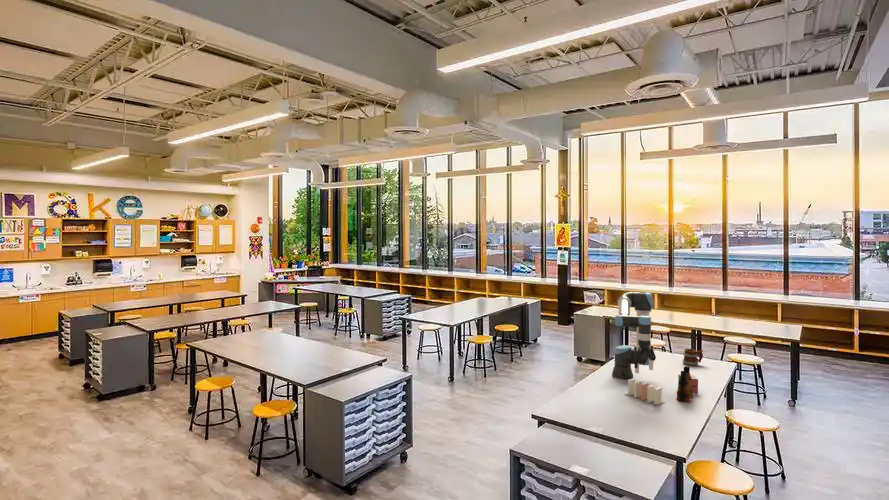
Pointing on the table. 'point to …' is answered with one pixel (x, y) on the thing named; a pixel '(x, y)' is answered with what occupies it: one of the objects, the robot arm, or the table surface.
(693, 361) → the mug
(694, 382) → the puzzle cube
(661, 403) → the mat
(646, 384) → the domino gap
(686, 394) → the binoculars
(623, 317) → the robot arm
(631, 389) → the domino
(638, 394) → the domino
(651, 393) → the domino
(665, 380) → the table surface
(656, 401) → the domino
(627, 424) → the table surface
